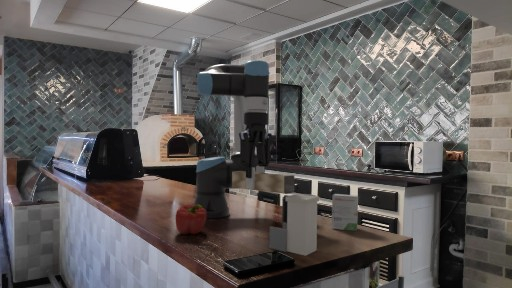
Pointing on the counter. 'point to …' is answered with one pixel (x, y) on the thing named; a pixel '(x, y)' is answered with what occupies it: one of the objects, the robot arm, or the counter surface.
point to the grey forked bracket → (297, 226)
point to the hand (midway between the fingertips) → (255, 187)
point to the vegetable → (190, 219)
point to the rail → (265, 182)
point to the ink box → (344, 212)
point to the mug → (284, 209)
